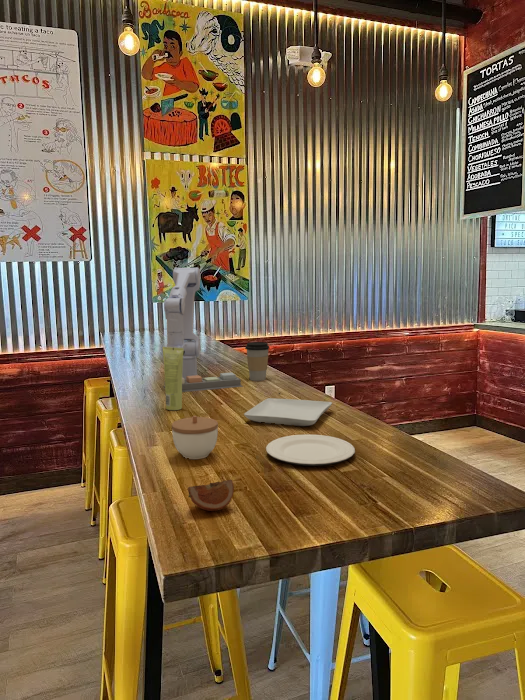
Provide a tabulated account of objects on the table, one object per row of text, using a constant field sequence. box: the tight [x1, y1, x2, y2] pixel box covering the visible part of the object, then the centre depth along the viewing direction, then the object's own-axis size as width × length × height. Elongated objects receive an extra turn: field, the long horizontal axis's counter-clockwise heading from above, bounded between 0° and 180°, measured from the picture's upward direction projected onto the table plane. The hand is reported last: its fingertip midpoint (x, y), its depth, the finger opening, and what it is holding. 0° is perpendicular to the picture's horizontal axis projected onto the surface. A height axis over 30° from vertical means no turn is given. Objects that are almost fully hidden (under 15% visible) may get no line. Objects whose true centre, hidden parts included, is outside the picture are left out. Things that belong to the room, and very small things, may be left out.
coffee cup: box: [244, 341, 271, 382], centre depth 209 cm, size 9×9×15 cm
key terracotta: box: [186, 374, 203, 383], centre depth 196 cm, size 5×5×2 cm
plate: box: [265, 433, 356, 467], centre depth 128 cm, size 21×21×2 cm
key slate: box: [219, 372, 237, 380], centre depth 201 cm, size 5×5×2 cm
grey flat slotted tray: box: [162, 376, 244, 393], centre depth 198 cm, size 12×27×3 cm, turn 112°
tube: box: [162, 346, 184, 411], centre depth 169 cm, size 6×5×20 cm
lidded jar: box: [171, 415, 219, 460], centre depth 127 cm, size 11×11×9 cm
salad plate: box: [243, 397, 333, 427], centre depth 159 cm, size 21×21×3 cm
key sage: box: [202, 376, 219, 382], centre depth 199 cm, size 5×5×2 cm
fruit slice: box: [187, 479, 235, 512], centre depth 99 cm, size 8×7×5 cm
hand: (176, 369), depth 193 cm, fingers closed
